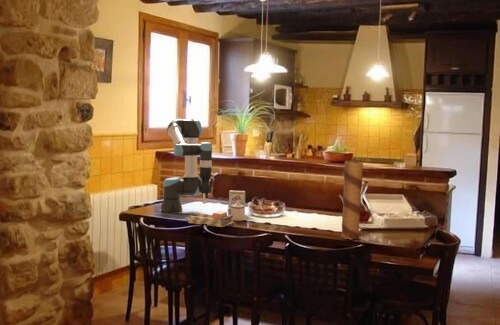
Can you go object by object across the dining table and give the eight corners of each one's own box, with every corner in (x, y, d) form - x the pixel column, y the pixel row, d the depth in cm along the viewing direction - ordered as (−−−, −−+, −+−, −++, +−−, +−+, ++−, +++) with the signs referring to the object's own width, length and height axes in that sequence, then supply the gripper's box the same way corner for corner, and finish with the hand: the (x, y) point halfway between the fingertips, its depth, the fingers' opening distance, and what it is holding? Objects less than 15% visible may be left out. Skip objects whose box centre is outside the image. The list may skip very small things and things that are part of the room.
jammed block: (212, 222, 361) (212, 213, 361) (218, 220, 368) (218, 211, 368) (220, 223, 359) (221, 214, 358) (226, 221, 366) (227, 212, 365)
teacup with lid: (246, 219, 382) (247, 201, 381) (240, 221, 374) (240, 203, 373) (231, 217, 388) (231, 200, 387) (224, 219, 380) (224, 201, 379)
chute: (188, 222, 366) (188, 214, 365) (199, 219, 378) (199, 211, 378) (222, 227, 355) (222, 218, 354) (233, 223, 367) (233, 215, 367)
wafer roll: (351, 235, 340) (354, 160, 336) (362, 239, 331) (366, 162, 327) (337, 237, 335) (340, 160, 331) (348, 241, 326) (351, 162, 322)
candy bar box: (228, 214, 396) (228, 191, 394) (228, 213, 401) (229, 190, 399) (244, 215, 395) (244, 191, 393) (244, 214, 400) (245, 190, 398)
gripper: (193, 166, 364) (192, 202, 367) (211, 168, 359) (210, 205, 362) (199, 165, 371) (199, 201, 374) (217, 167, 366) (216, 203, 368)
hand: (204, 203), depth 368 cm, fingers closed
